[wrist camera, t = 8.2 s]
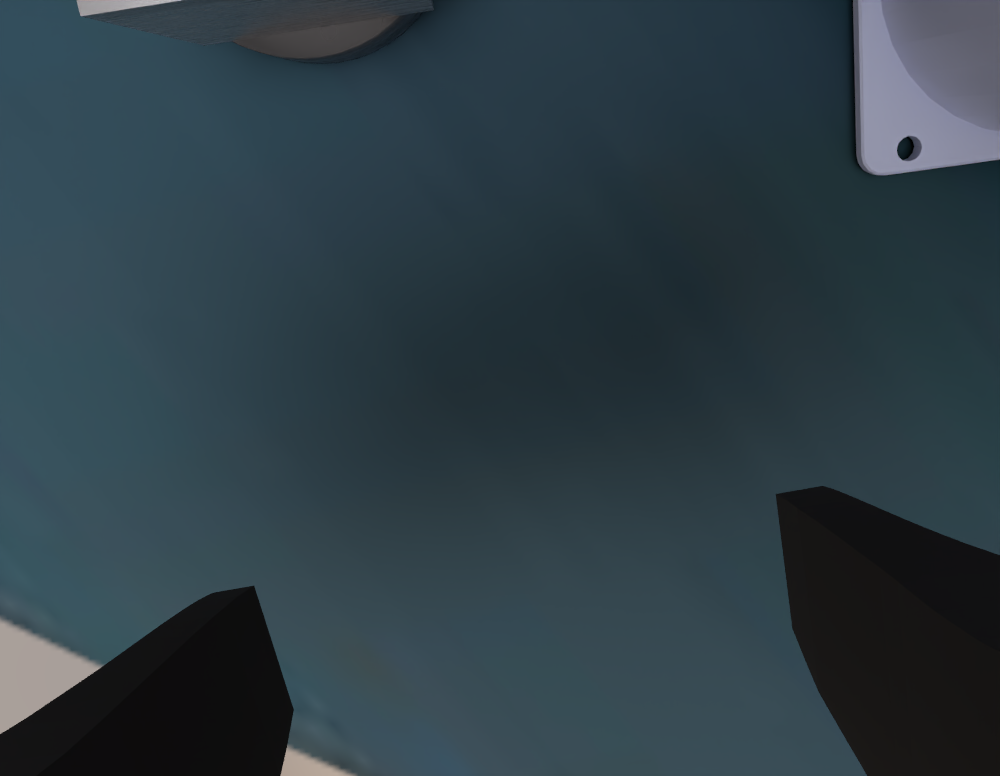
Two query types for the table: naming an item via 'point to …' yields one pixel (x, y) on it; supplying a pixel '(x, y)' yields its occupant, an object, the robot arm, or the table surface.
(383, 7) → the brushed metal cube
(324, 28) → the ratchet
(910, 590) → the robot arm
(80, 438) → the table surface
